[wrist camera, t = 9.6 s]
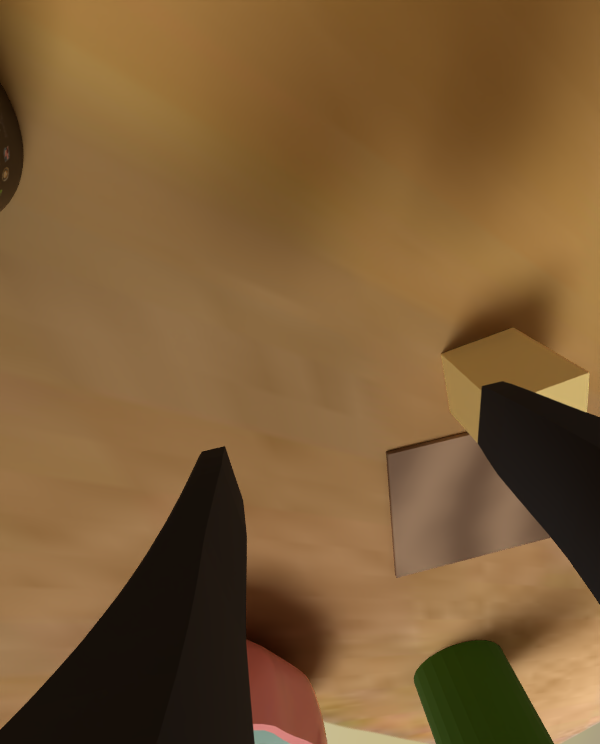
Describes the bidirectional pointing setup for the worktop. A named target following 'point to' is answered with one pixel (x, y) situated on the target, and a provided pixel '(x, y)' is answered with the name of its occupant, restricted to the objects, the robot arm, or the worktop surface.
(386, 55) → the worktop surface
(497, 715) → the wine bottle
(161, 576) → the robot arm
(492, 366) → the ochre block
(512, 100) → the worktop surface
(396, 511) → the walnut base
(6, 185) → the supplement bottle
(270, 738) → the cell model
